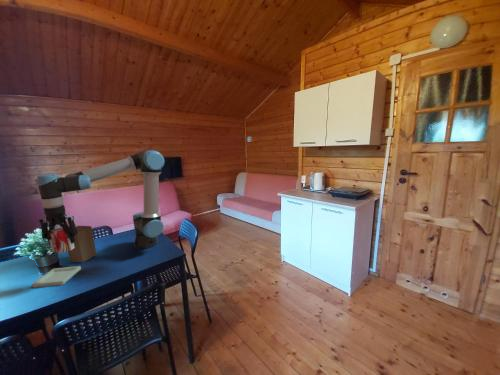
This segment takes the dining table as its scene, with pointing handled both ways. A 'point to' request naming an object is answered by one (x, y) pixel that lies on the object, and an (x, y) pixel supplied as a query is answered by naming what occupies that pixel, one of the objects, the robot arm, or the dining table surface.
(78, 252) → the block
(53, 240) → the soda can
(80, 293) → the dining table surface
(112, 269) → the dining table surface
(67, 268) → the tray
